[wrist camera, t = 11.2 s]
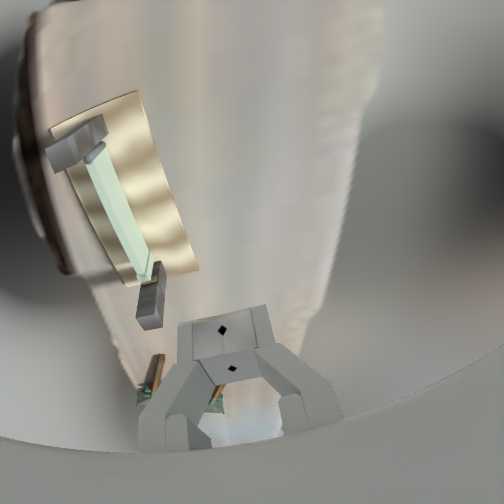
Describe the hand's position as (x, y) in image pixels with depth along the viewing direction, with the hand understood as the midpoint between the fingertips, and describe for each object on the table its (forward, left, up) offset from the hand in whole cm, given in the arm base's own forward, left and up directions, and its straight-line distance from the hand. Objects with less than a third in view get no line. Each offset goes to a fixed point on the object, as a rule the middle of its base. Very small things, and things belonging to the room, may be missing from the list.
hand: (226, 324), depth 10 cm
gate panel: (+9, -15, -33) cm, 37 cm away
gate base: (+9, -15, -34) cm, 38 cm away
